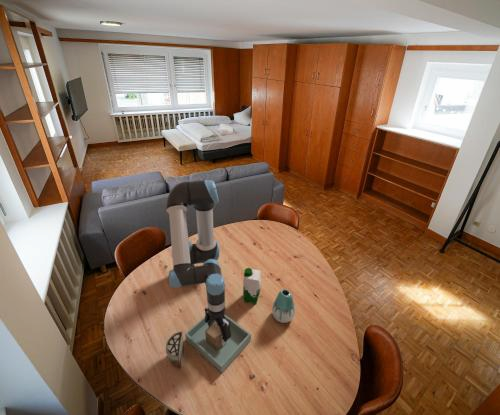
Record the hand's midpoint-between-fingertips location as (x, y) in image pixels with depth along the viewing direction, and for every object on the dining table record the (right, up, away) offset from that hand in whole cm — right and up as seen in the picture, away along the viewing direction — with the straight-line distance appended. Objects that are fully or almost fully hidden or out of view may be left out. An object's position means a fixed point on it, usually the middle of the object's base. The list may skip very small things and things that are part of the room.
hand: (218, 338), depth 125 cm
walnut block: (0, 0, 0) cm, 0 cm away
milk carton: (+16, +11, +23) cm, 30 cm away
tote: (0, -1, 0) cm, 1 cm away
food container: (-18, -5, -7) cm, 20 cm away
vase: (+32, +5, +13) cm, 35 cm away
